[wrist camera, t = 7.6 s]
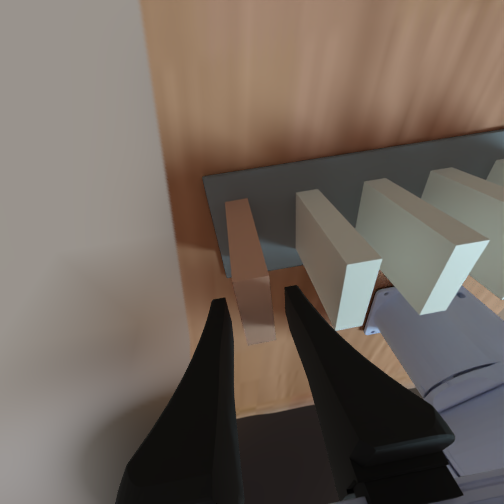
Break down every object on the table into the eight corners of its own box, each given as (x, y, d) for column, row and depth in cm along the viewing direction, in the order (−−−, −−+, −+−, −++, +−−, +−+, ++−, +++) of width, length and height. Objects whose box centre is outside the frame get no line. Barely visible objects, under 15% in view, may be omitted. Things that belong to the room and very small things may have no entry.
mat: (583, 116, 16) (591, 117, 16) (511, 225, 22) (515, 228, 22) (202, 176, 15) (202, 178, 15) (226, 275, 21) (226, 278, 21)
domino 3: (451, 167, 17) (594, 221, 11) (427, 225, 20) (527, 295, 14) (430, 170, 17) (561, 227, 11) (409, 228, 20) (501, 299, 14)
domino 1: (317, 189, 17) (382, 258, 10) (314, 245, 20) (362, 325, 13) (295, 192, 17) (347, 264, 10) (295, 248, 20) (335, 330, 13)
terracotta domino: (247, 198, 16) (269, 275, 10) (255, 253, 19) (275, 340, 13) (224, 201, 16) (232, 282, 10) (236, 257, 19) (248, 345, 13)
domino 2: (385, 177, 17) (490, 239, 10) (371, 235, 20) (445, 310, 13) (364, 181, 17) (456, 245, 10) (353, 238, 20) (419, 315, 13)
